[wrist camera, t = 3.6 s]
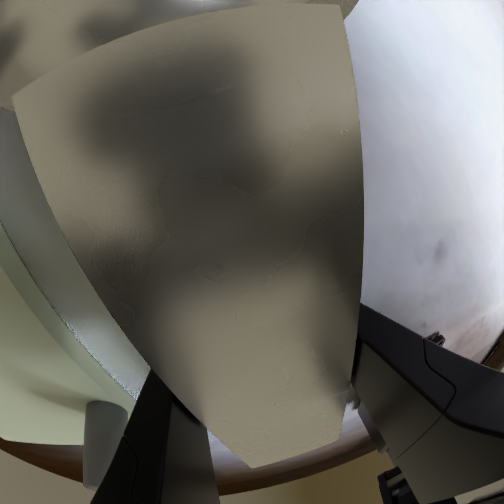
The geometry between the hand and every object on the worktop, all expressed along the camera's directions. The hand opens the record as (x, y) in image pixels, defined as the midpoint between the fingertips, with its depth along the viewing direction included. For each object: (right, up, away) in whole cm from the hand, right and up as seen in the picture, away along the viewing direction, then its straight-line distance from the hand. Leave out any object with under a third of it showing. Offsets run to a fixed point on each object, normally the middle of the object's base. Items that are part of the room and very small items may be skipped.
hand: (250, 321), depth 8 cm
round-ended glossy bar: (-1, +3, 0) cm, 3 cm away
